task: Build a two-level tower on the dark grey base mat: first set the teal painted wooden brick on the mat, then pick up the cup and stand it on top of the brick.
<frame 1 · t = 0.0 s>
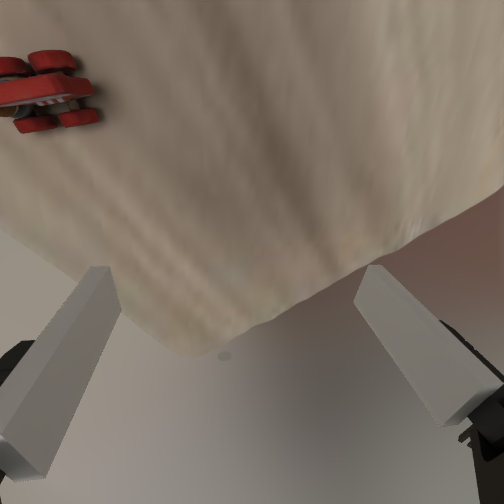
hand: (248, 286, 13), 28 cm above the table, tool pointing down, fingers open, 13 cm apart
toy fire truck: (53, 95, 29), on the table
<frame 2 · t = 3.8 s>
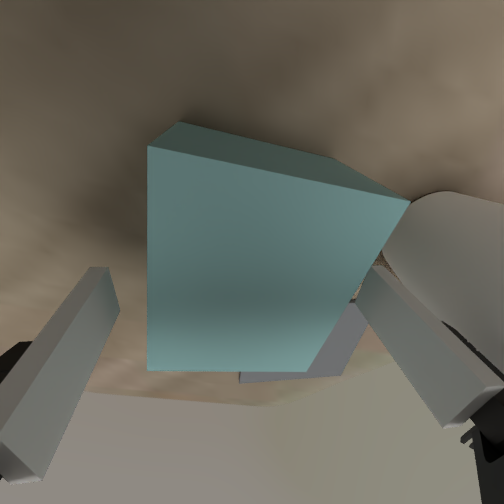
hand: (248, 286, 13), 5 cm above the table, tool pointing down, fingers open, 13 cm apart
cup: (420, 230, 18), on the table, touching gripper
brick: (241, 226, 16), on the table
base mat: (301, 343, 24), on the table
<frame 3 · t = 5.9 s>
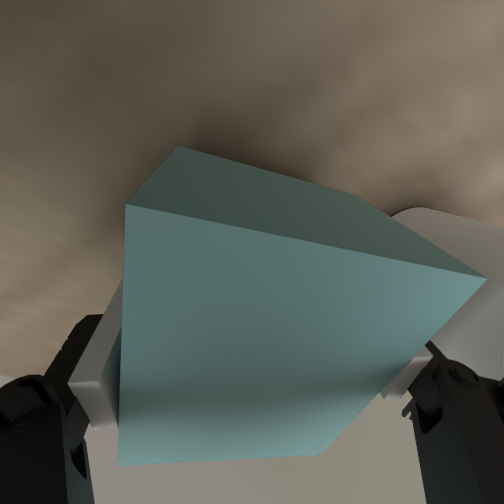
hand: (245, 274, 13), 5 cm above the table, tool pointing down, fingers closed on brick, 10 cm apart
cup: (401, 242, 20), on the table
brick: (245, 267, 14), point 4 cm above the table, touching gripper
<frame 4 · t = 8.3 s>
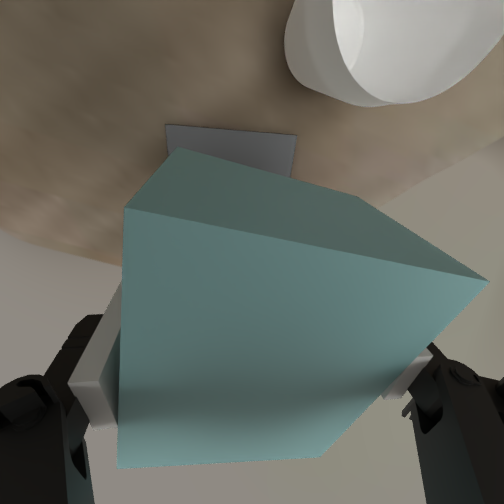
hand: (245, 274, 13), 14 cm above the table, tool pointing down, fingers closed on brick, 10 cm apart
cup: (322, 41, 20), on the table
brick: (245, 268, 14), point 14 cm above the table, touching gripper
base mat: (231, 193, 25), on the table
when the fingers open (1 cm above the table, at t = 11.0 s): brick stays where it is, resting on base mat.
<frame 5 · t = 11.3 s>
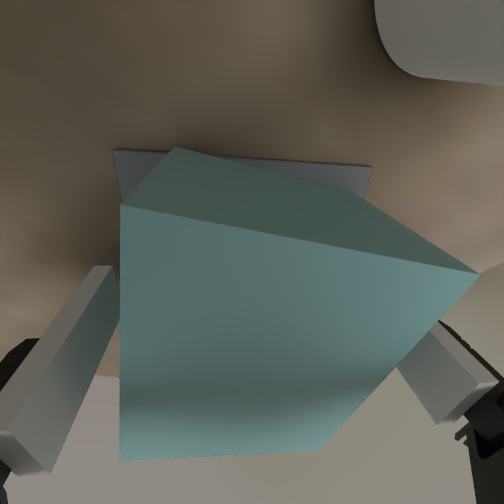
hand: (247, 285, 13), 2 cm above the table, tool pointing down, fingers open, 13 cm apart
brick: (244, 266, 14), resting on base mat
base mat: (243, 263, 14), on the table
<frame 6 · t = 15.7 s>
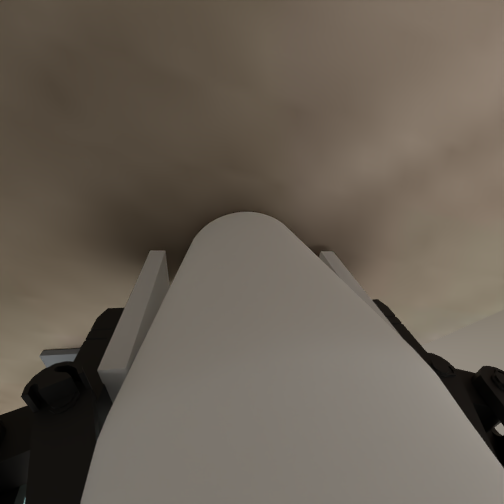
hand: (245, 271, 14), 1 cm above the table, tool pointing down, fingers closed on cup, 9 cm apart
cup: (243, 260, 14), on the table, touching gripper
base mat: (150, 391, 20), on the table
when the fingers open (10 cm above the table, at t = 21.1 s): cup drops 1 cm, resting on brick.
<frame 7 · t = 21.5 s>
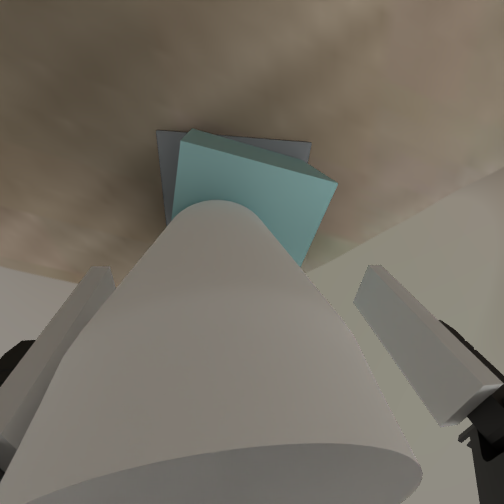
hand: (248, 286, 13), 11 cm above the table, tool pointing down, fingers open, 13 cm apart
cup: (218, 247, 15), point 7 cm above the table, touching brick
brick: (233, 209, 21), resting on base mat, touching cup
base mat: (233, 208, 22), on the table
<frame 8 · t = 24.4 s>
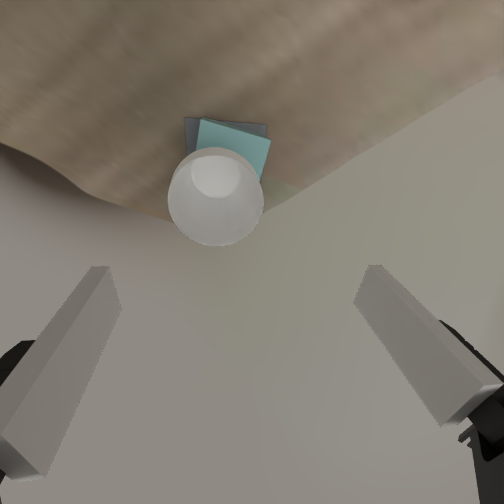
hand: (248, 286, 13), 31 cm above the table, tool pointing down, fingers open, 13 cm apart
cup: (216, 172, 32), point 7 cm above the table, touching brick
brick: (225, 163, 38), resting on base mat, touching cup
base mat: (225, 163, 38), on the table
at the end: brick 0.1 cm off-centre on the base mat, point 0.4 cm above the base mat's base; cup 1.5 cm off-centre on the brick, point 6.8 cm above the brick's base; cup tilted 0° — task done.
